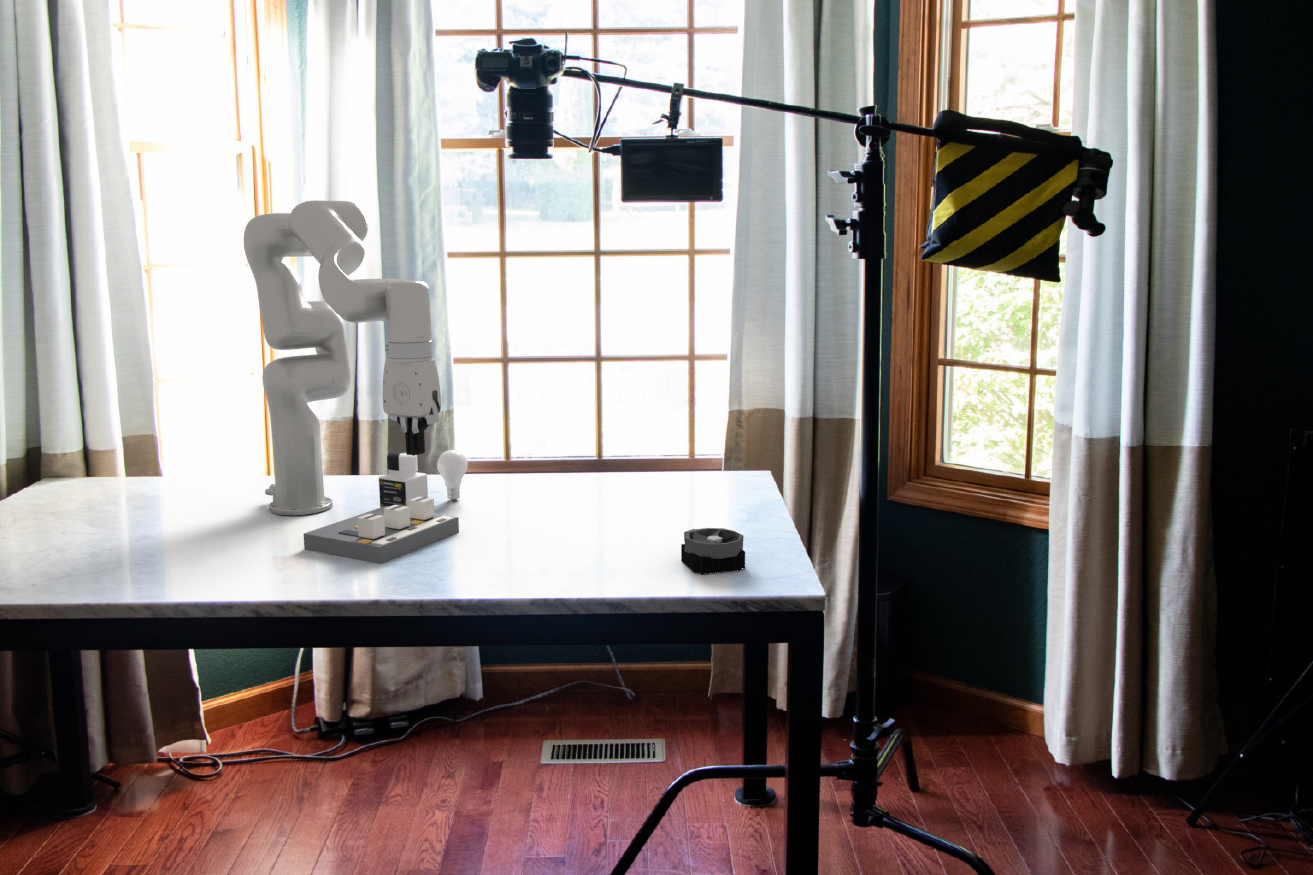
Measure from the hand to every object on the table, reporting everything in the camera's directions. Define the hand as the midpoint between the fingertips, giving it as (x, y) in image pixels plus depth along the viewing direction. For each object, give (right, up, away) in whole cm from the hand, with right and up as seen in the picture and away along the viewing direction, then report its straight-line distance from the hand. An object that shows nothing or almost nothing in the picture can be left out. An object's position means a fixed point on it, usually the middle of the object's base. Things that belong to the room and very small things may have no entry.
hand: (415, 453), depth 193 cm
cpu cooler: (+53, -20, -5) cm, 57 cm away
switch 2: (-5, -14, +7) cm, 16 cm away
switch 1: (-8, -15, 0) cm, 17 cm away
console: (-8, -16, +9) cm, 20 cm away
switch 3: (-2, -12, +13) cm, 18 cm away
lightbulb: (0, -11, +38) cm, 40 cm away
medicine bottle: (-9, -12, +32) cm, 35 cm away
